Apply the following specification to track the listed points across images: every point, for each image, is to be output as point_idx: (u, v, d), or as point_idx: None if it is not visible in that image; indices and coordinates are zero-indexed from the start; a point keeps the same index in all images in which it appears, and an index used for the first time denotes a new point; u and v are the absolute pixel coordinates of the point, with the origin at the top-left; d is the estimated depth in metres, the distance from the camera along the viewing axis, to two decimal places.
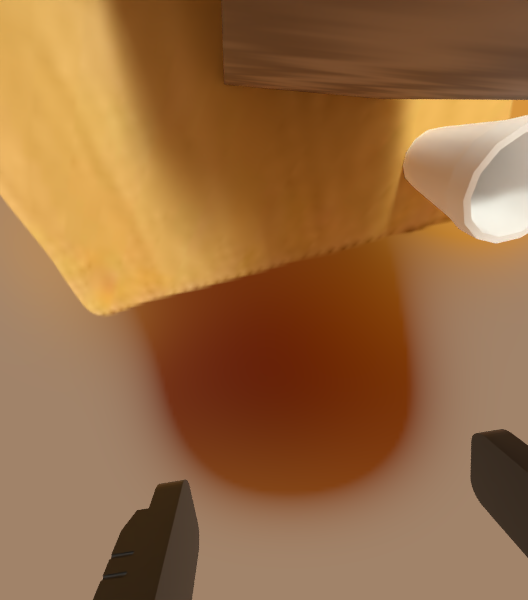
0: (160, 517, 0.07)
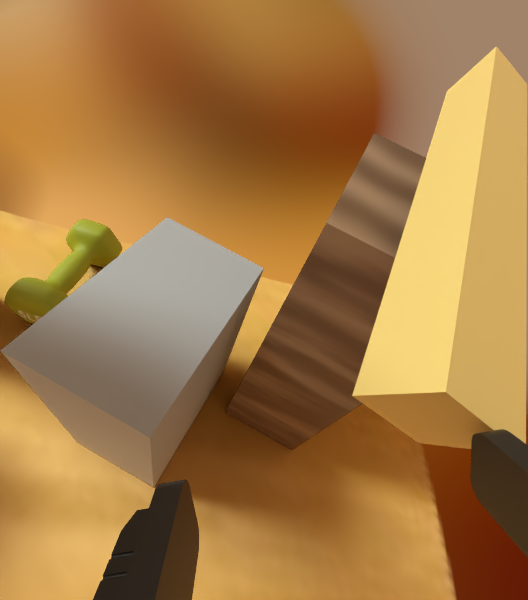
0: (160, 517, 0.07)
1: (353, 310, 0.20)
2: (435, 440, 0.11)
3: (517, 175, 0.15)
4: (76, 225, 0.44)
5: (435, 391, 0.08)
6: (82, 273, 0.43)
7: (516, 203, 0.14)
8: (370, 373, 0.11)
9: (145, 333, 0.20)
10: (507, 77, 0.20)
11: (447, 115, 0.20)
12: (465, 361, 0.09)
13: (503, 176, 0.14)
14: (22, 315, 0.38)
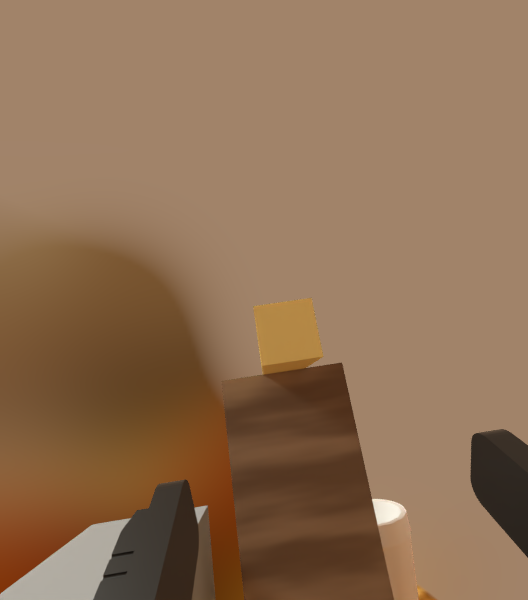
0: (160, 517, 0.07)
1: (281, 435, 0.24)
2: (313, 340, 0.17)
3: None
4: None
5: (254, 311, 0.18)
6: None
7: None
8: None
9: (91, 590, 0.16)
10: None
11: None
12: None
13: None
14: None
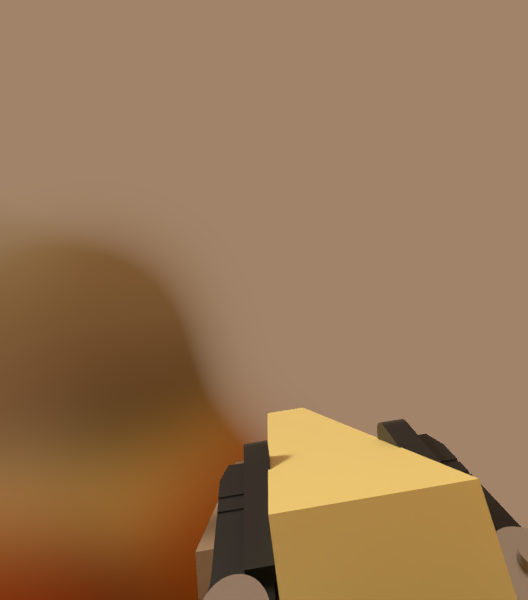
0: (257, 467, 0.08)
1: None
2: None
3: (313, 419, 0.18)
4: None
5: None
6: None
7: (320, 423, 0.16)
8: None
9: None
10: (283, 412, 0.27)
11: None
12: (297, 485, 0.06)
13: (298, 424, 0.16)
14: None
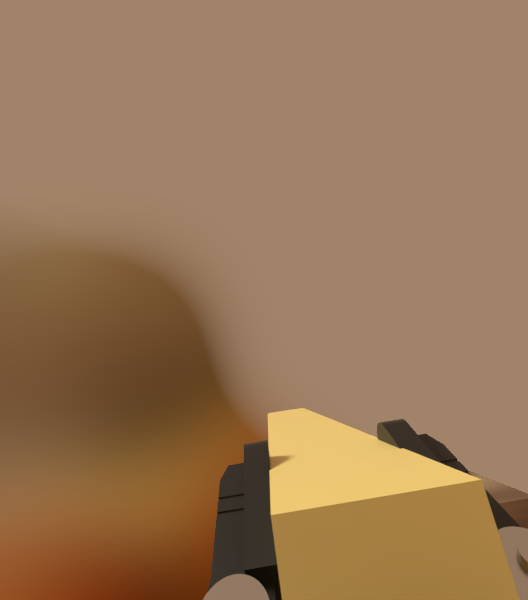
0: (257, 467, 0.08)
1: None
2: None
3: (314, 419, 0.18)
4: None
5: (273, 534, 0.05)
6: None
7: (320, 423, 0.16)
8: None
9: None
10: (283, 413, 0.27)
11: None
12: (298, 485, 0.06)
13: (298, 424, 0.16)
14: None
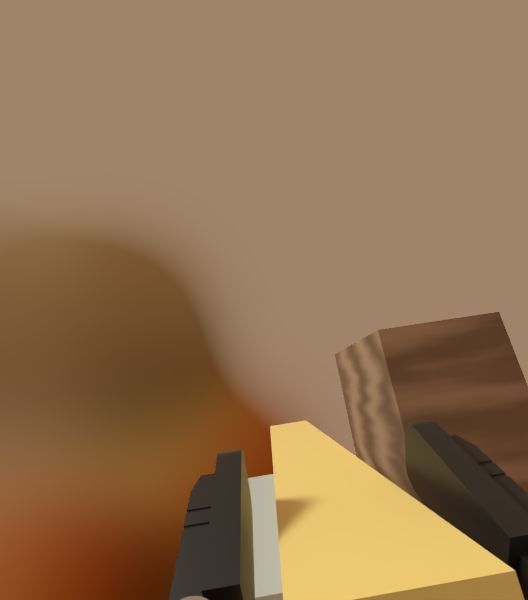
0: (228, 478, 0.08)
1: (447, 383, 0.23)
2: None
3: (319, 441, 0.17)
4: None
5: None
6: None
7: (326, 448, 0.15)
8: None
9: None
10: (285, 427, 0.27)
11: None
12: (311, 558, 0.06)
13: (303, 448, 0.16)
14: None
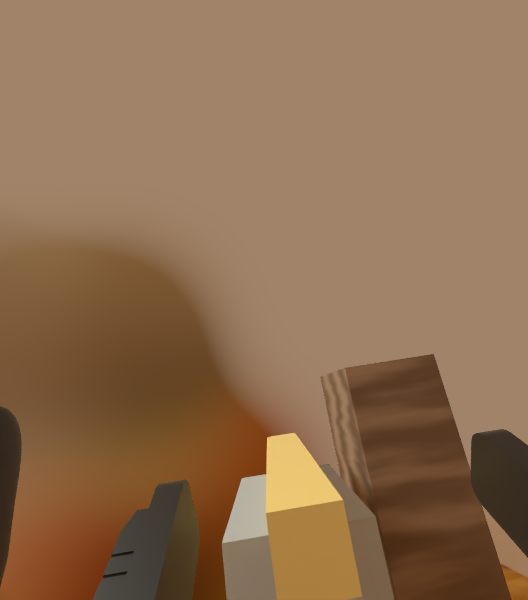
0: (160, 517, 0.07)
1: (394, 407, 0.32)
2: (348, 568, 0.13)
3: (298, 450, 0.26)
4: None
5: None
6: None
7: (300, 455, 0.24)
8: None
9: None
10: (278, 438, 0.36)
11: None
12: (277, 501, 0.15)
13: (286, 455, 0.25)
14: None
